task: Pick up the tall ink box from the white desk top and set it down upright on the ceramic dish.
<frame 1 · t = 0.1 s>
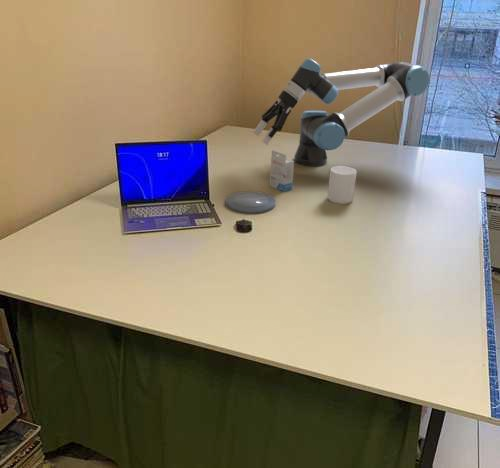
hand: (259, 138, 198), 15 cm above the table, tool tilted 35°, fingers open, 13 cm apart
dish: (250, 203, 176), on the table
ink box: (280, 187, 192), on the table
mug: (337, 199, 183), on the table
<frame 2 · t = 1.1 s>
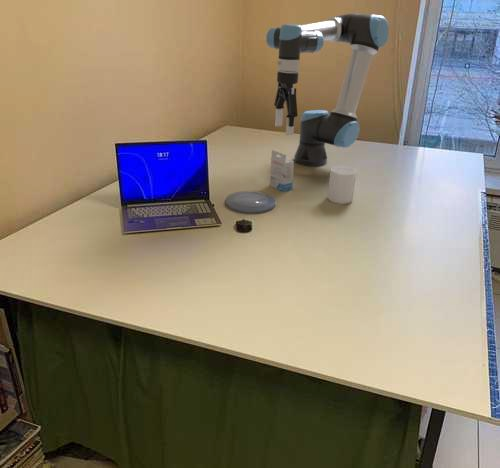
hand: (283, 130, 182), 23 cm above the table, tool pointing down, fingers open, 13 cm apart
nothing on the table moved.
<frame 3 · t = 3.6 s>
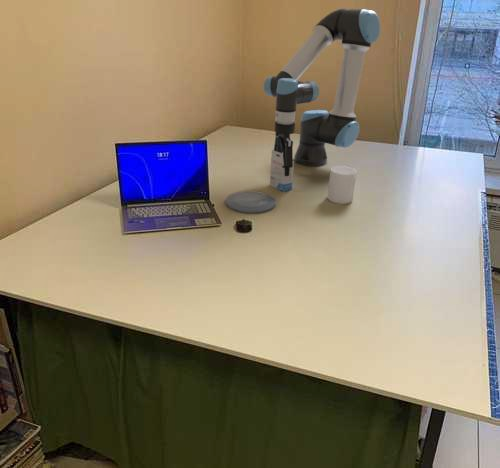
hand: (281, 178, 190), 4 cm above the table, tool pointing down, fingers closed on ink box, 9 cm apart
ink box: (280, 187, 192), on the table, touching gripper
everything else where it was.
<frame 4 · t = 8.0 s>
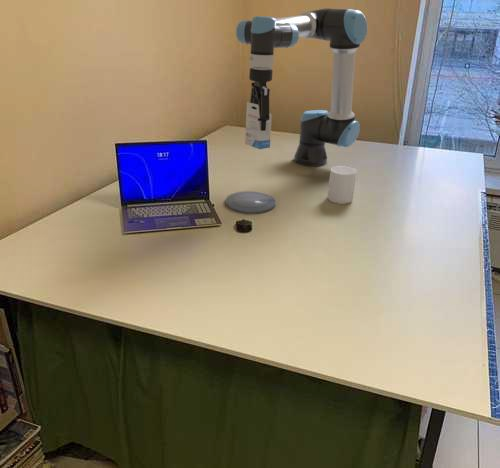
hand: (257, 135, 168), 24 cm above the table, tool pointing down, fingers closed on ink box, 9 cm apart
ink box: (257, 146, 169), point 21 cm above the table, touching gripper
everything else where it was.
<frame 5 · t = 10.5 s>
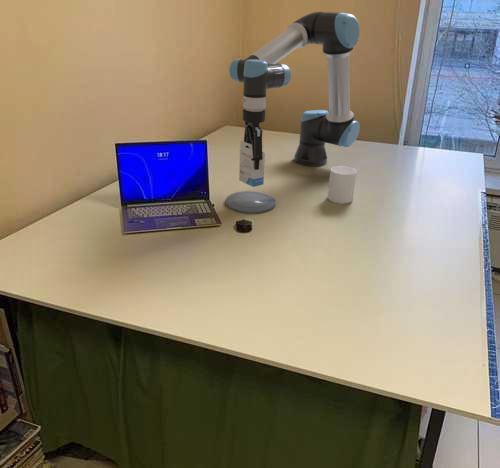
hand: (251, 173, 171), 12 cm above the table, tool pointing down, fingers closed on ink box, 9 cm apart
ink box: (251, 183, 172), point 8 cm above the table, touching gripper
everything else where it was.
when the fingers open (6 cm above the table, at t = 12.5 s): ink box drops 1 cm, resting on dish.
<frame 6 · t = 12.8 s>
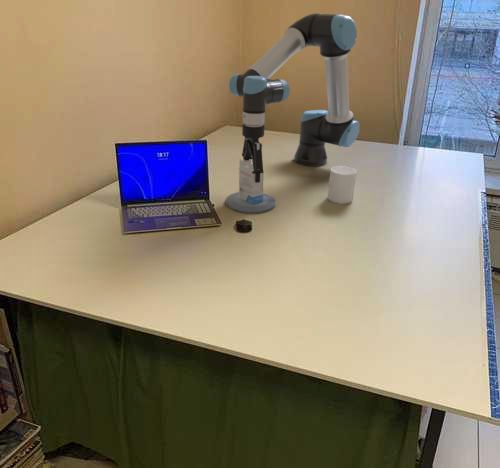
hand: (251, 183, 173), 8 cm above the table, tool pointing down, fingers open, 13 cm apart
ink box: (250, 200, 176), point 1 cm above the table, touching dish
everything else where it was.
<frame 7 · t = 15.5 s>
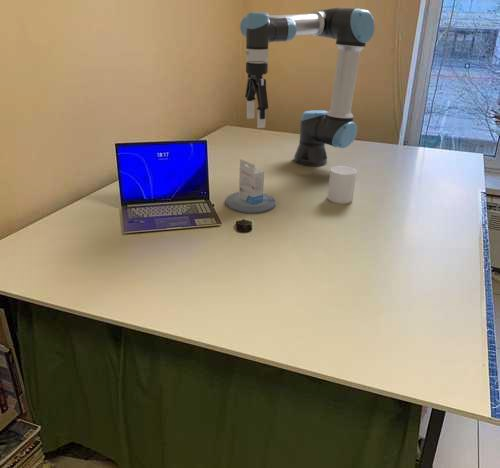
hand: (255, 123, 176), 26 cm above the table, tool pointing down, fingers open, 13 cm apart
nothing on the table moved.
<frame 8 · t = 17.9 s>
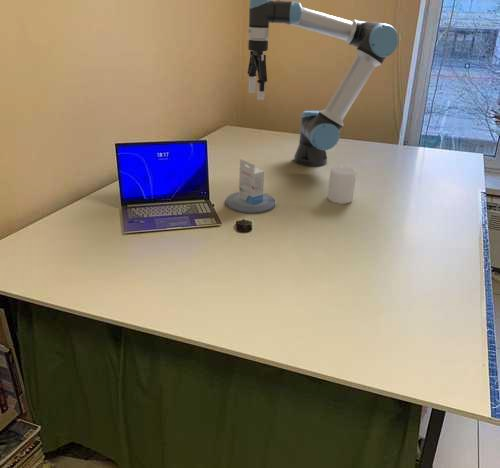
hand: (256, 96, 194), 32 cm above the table, tool pointing down, fingers open, 13 cm apart
nothing on the table moved.
at the end: ink box inside the target area on the dish (0.1 cm from its centre), point 1.2 cm above the dish's base; ink box tilted 0°; the gripper is holding nothing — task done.
